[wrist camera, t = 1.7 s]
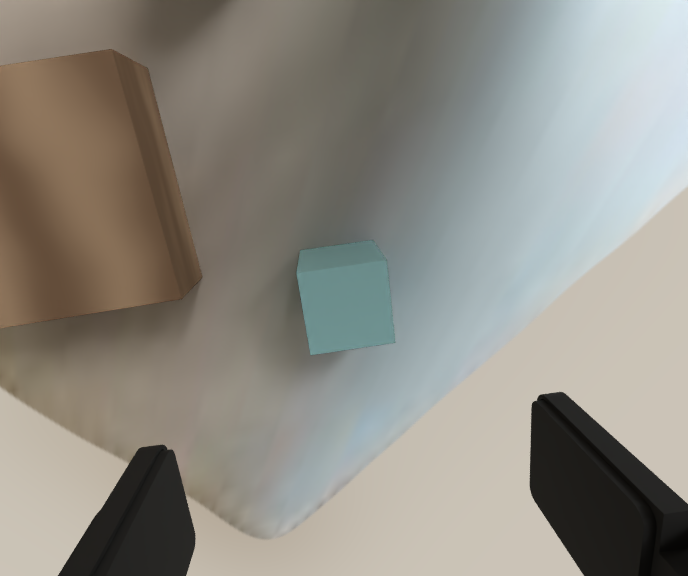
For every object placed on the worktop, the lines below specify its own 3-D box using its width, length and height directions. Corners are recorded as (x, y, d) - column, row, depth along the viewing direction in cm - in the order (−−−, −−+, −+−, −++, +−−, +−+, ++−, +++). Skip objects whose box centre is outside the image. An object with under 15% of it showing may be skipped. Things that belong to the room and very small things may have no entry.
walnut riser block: (150, 69, 25) (111, 49, 21) (203, 275, 29) (181, 299, 24) (-68, 102, 25) (-158, 89, 20) (15, 306, 29) (-44, 335, 24)
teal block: (372, 239, 29) (386, 260, 23) (380, 307, 30) (395, 342, 25) (300, 250, 29) (296, 273, 23) (311, 317, 30) (310, 355, 25)
